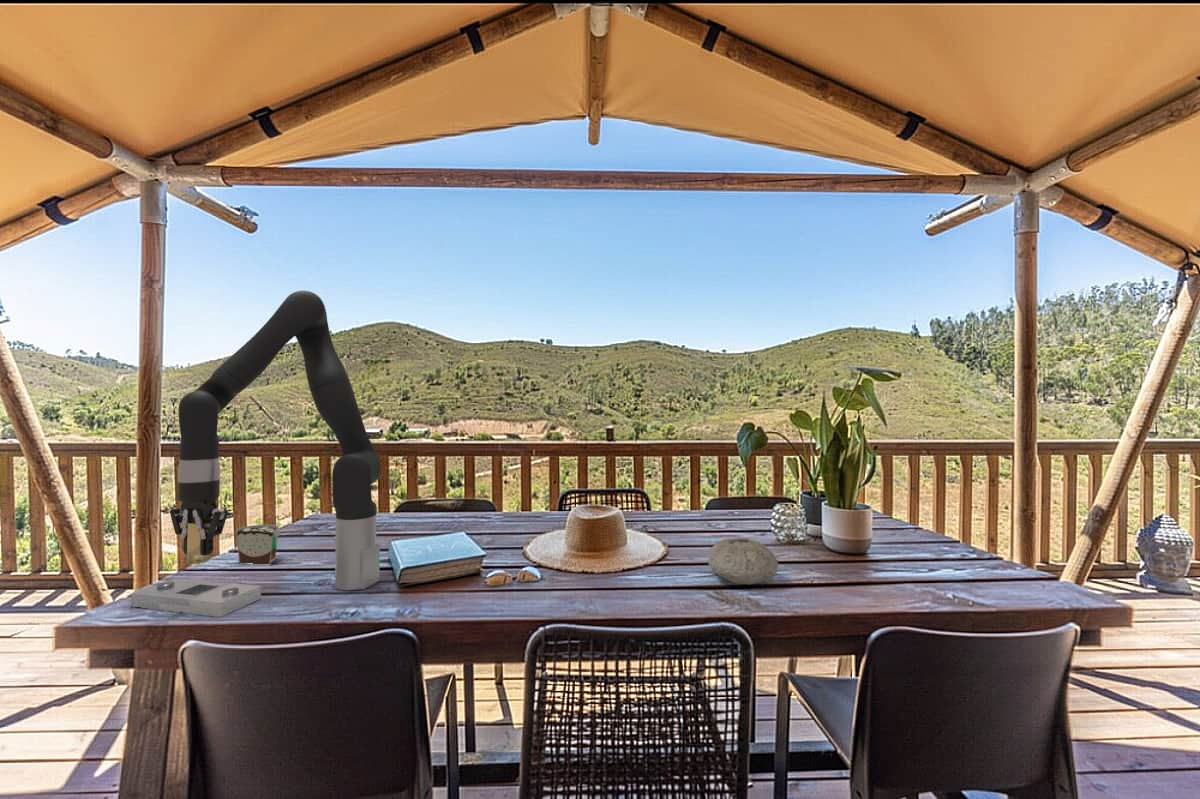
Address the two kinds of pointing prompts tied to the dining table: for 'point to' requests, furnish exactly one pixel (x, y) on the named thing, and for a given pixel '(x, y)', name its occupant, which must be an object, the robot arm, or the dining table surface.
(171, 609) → the studded base plate
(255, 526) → the food container
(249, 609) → the dining table surface
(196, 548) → the brass pin
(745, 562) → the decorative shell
